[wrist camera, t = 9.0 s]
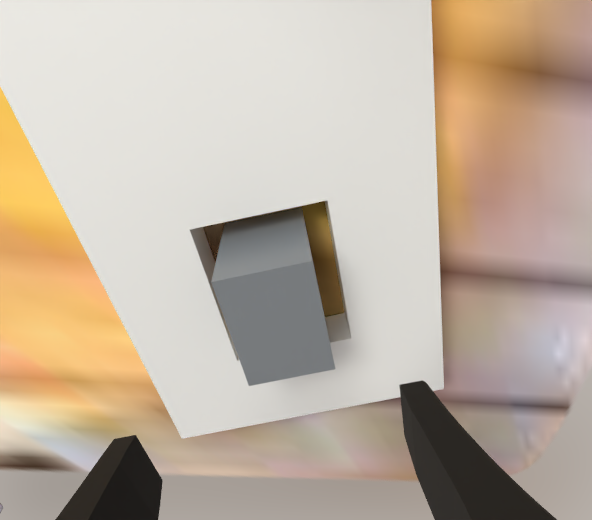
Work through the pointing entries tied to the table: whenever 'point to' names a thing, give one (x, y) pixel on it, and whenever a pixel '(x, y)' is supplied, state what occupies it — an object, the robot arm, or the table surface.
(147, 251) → the base plate
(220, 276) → the block
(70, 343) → the table surface
